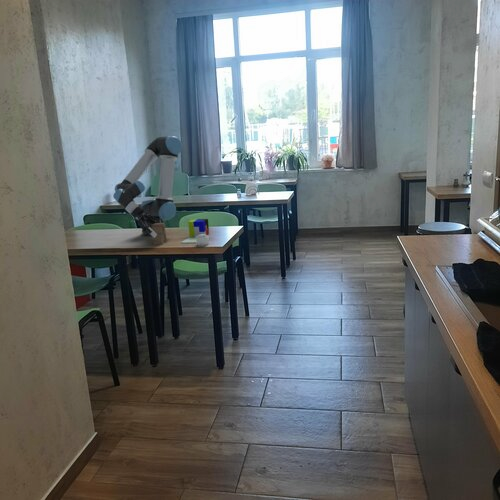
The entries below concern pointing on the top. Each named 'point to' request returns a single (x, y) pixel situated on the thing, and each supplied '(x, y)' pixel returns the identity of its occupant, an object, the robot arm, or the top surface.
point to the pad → (191, 240)
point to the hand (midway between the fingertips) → (160, 234)
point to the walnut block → (159, 233)
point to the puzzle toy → (198, 227)
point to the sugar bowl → (202, 240)
